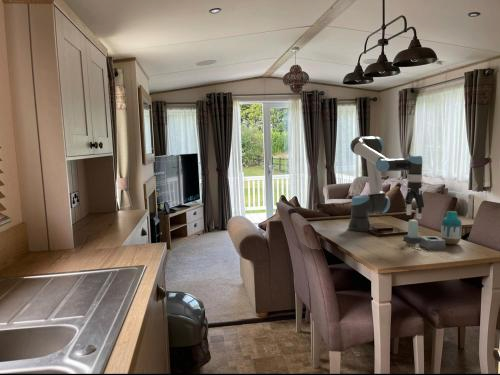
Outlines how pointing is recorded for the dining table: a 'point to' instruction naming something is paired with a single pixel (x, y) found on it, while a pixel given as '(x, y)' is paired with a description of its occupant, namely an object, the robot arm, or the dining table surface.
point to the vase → (451, 228)
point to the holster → (411, 239)
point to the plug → (412, 228)
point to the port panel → (432, 242)
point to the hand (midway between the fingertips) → (413, 216)
